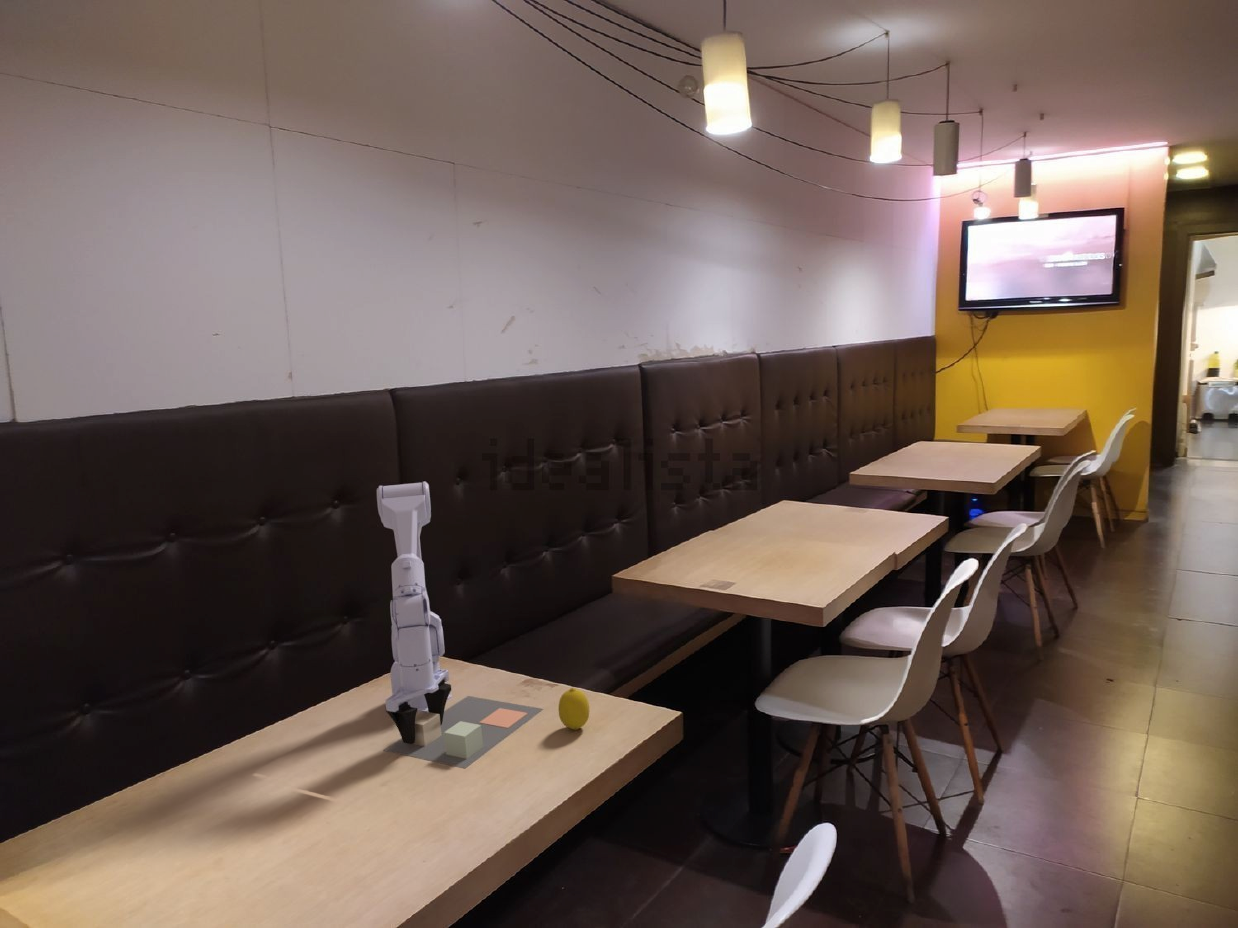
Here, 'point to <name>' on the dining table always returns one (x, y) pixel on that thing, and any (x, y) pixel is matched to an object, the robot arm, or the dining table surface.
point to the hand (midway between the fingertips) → (423, 733)
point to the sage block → (463, 739)
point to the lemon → (573, 709)
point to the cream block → (426, 727)
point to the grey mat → (487, 713)
